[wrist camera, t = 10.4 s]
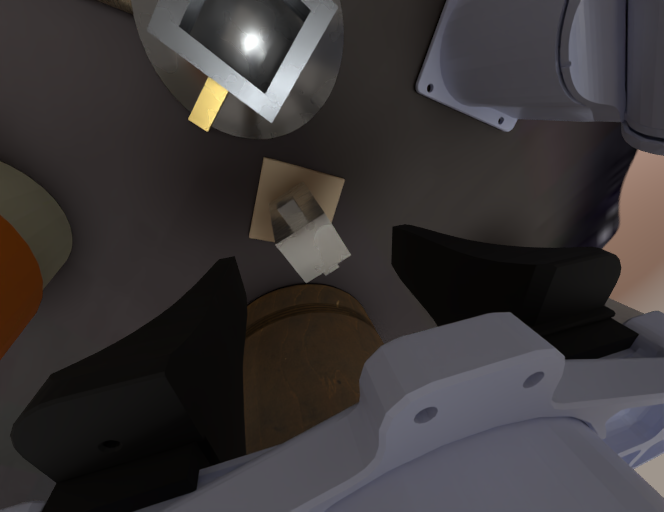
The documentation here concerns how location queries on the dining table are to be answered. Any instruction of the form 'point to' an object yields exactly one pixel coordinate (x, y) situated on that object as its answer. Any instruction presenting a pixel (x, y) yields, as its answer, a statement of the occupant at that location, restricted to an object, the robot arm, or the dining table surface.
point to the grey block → (305, 234)
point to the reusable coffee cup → (27, 249)
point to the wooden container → (302, 360)
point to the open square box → (174, 31)
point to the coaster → (282, 179)
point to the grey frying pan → (246, 60)
